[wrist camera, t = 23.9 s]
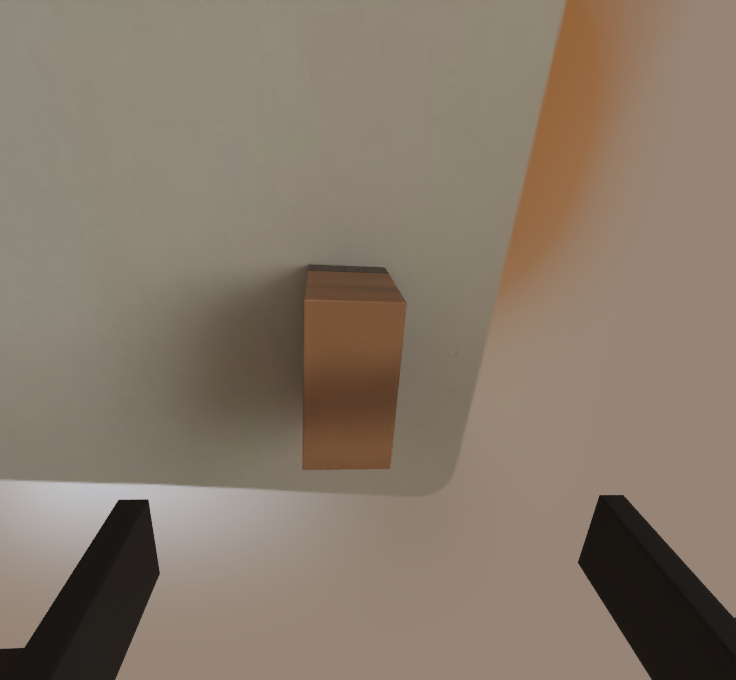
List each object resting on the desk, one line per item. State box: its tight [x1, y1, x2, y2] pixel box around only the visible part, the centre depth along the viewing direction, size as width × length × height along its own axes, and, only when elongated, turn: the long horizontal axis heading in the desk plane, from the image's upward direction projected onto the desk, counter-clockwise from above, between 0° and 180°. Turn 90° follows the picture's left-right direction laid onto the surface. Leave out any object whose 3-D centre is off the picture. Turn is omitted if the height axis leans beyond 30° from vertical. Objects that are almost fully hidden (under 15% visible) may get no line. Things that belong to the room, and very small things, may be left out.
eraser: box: [303, 265, 407, 470], centre depth 24 cm, size 9×4×7 cm, turn 176°
